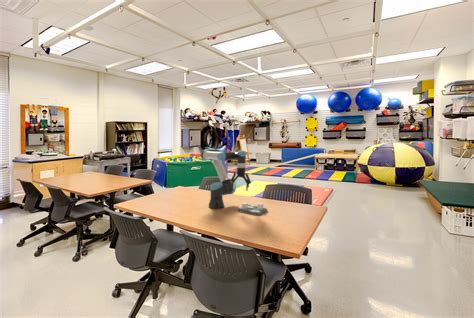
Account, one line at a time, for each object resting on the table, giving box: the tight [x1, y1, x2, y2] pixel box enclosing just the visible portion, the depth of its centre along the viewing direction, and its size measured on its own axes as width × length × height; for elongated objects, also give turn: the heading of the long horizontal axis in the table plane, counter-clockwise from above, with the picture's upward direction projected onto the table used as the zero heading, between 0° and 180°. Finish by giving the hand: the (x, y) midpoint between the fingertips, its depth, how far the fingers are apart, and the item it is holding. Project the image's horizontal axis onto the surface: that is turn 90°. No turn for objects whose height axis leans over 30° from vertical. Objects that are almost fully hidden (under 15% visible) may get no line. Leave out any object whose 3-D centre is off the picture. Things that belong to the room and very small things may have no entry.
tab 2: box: [256, 202, 264, 210], centre depth 225 cm, size 4×4×5 cm
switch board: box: [237, 204, 268, 217], centre depth 226 cm, size 22×16×3 cm
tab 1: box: [241, 202, 249, 209], centre depth 226 cm, size 4×4×5 cm
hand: (240, 189), depth 229 cm, fingers open, 13 cm apart
